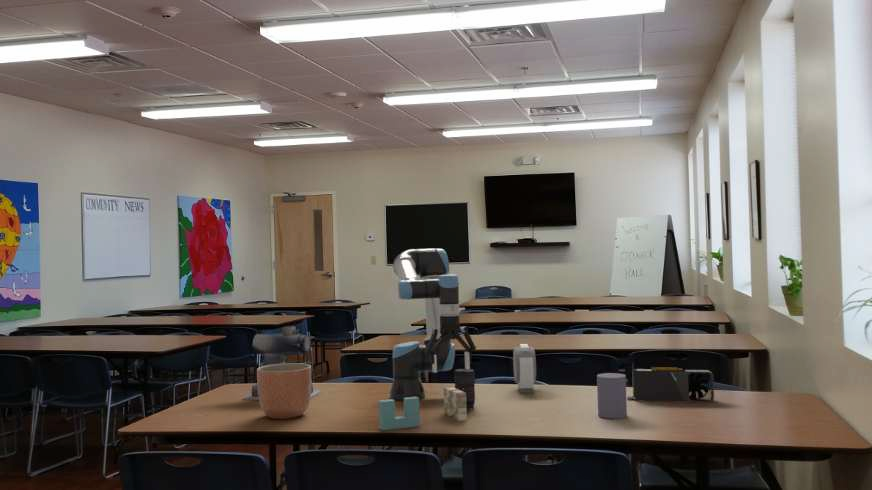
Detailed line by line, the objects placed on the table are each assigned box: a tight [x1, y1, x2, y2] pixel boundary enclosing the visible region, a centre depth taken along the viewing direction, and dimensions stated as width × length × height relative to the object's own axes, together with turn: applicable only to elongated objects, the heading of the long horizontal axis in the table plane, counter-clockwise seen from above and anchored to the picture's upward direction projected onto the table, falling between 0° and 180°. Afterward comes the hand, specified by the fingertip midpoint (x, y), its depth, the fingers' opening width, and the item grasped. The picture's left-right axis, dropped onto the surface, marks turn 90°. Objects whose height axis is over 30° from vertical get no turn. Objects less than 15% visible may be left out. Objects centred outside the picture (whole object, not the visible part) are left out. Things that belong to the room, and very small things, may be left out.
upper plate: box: [443, 386, 468, 422], centre depth 281 cm, size 14×3×10 cm, turn 21°
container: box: [596, 372, 628, 420], centre depth 275 cm, size 10×10×15 cm
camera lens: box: [453, 368, 476, 410], centre depth 296 cm, size 8×8×15 cm
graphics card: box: [626, 362, 715, 403], centre depth 299 cm, size 33×5×14 cm, turn 75°
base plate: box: [378, 397, 421, 431], centre depth 267 cm, size 14×3×10 cm, turn 111°
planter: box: [256, 362, 312, 420], centre depth 291 cm, size 21×21×19 cm
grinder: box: [241, 326, 323, 401], centre depth 333 cm, size 18×31×31 cm, turn 79°
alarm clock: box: [512, 343, 537, 394], centre depth 329 cm, size 18×8×20 cm, turn 179°
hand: (451, 370), depth 286 cm, fingers open, 13 cm apart
